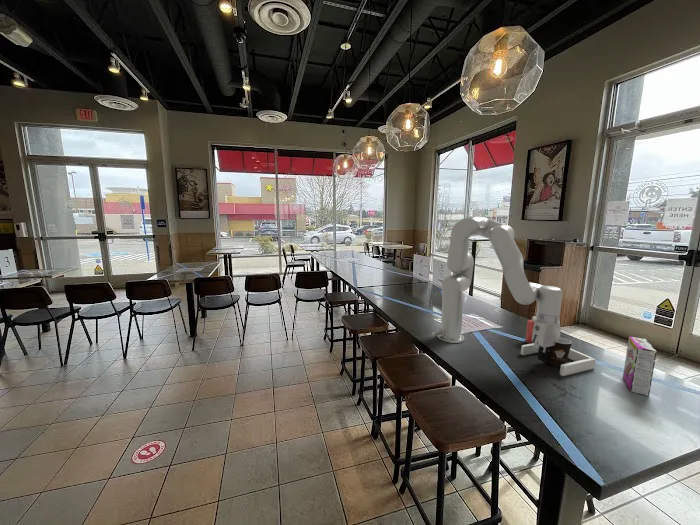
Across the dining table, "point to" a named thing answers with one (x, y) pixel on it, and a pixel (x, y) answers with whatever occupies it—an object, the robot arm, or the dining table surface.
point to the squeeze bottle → (530, 330)
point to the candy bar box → (639, 365)
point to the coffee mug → (559, 352)
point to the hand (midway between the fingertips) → (542, 360)
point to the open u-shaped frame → (580, 365)
